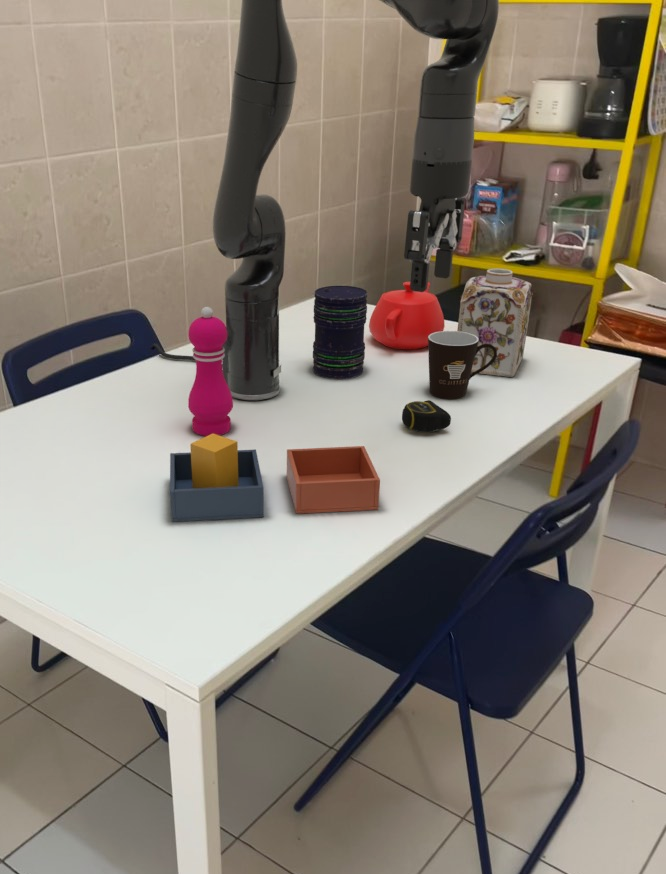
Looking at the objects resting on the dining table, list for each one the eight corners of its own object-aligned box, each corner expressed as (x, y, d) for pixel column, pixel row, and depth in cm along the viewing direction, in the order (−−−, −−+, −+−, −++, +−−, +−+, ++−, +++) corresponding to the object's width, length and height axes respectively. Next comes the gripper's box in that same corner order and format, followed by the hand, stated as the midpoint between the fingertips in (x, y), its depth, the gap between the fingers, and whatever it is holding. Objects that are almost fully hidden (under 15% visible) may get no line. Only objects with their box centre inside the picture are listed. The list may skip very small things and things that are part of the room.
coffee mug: (418, 397, 155) (423, 342, 150) (429, 382, 162) (434, 328, 157) (484, 406, 151) (492, 349, 146) (493, 390, 158) (500, 335, 153)
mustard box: (216, 506, 119) (214, 452, 115) (193, 496, 121) (190, 443, 117) (238, 494, 122) (237, 441, 118) (215, 485, 124) (212, 433, 120)
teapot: (424, 363, 171) (429, 300, 165) (349, 352, 177) (352, 292, 171) (459, 329, 190) (465, 272, 184) (391, 321, 196) (395, 265, 190)
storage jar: (372, 367, 169) (377, 289, 162) (349, 382, 162) (352, 301, 154) (327, 359, 174) (329, 283, 166) (302, 373, 166) (303, 294, 159)
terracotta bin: (295, 513, 118) (296, 483, 115) (286, 477, 127) (286, 449, 125) (378, 509, 118) (380, 479, 116) (362, 474, 128) (364, 445, 126)
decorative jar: (451, 371, 167) (461, 274, 158) (463, 353, 176) (473, 261, 167) (515, 378, 163) (529, 280, 154) (524, 360, 172) (538, 266, 163)
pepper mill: (241, 424, 145) (238, 303, 135) (221, 440, 139) (217, 315, 129) (202, 418, 148) (197, 298, 138) (181, 433, 142) (174, 310, 132)
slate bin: (172, 521, 116) (169, 491, 114) (172, 481, 126) (170, 453, 124) (263, 517, 117) (263, 487, 115) (256, 477, 127) (255, 449, 125)
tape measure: (451, 433, 141) (453, 411, 139) (412, 438, 139) (414, 416, 137) (431, 418, 146) (433, 397, 145) (394, 423, 145) (395, 401, 143)
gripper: (435, 148, 119) (425, 270, 127) (392, 160, 108) (383, 292, 116) (489, 151, 115) (474, 276, 124) (449, 164, 105) (436, 299, 113)
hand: (430, 284), depth 120 cm, fingers open, 8 cm apart
